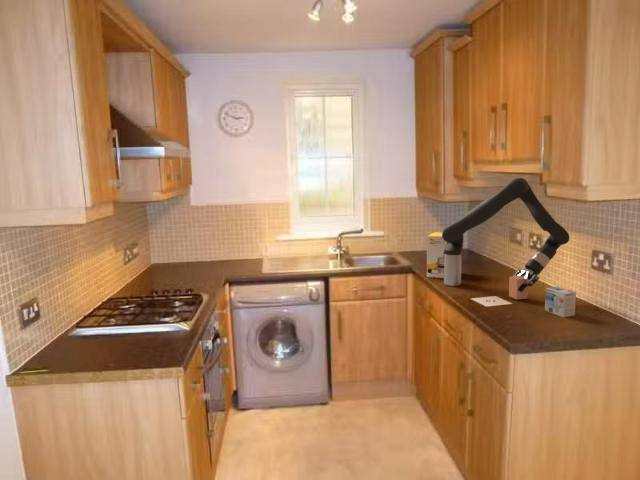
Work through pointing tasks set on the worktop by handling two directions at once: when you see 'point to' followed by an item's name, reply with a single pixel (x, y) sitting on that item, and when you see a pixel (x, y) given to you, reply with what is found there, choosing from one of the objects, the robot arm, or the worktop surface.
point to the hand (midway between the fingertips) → (515, 289)
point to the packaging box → (435, 255)
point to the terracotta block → (515, 284)
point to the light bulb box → (560, 301)
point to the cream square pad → (491, 301)
